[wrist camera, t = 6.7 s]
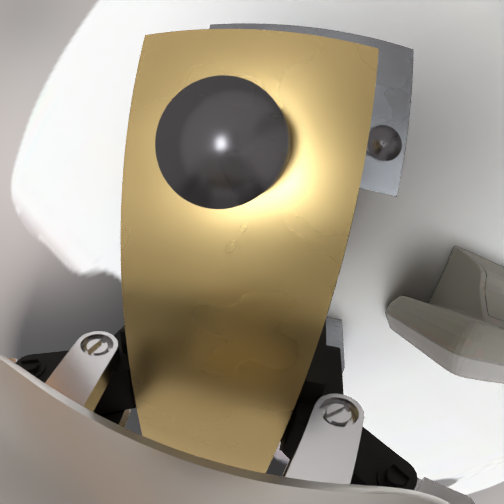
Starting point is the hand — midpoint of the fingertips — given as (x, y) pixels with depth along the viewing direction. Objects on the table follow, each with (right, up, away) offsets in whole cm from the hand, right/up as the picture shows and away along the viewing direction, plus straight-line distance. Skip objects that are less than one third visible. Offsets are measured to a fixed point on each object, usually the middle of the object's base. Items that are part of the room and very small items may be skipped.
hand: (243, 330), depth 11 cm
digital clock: (+18, -2, +7) cm, 19 cm away
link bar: (0, 0, 0) cm, 1 cm away
